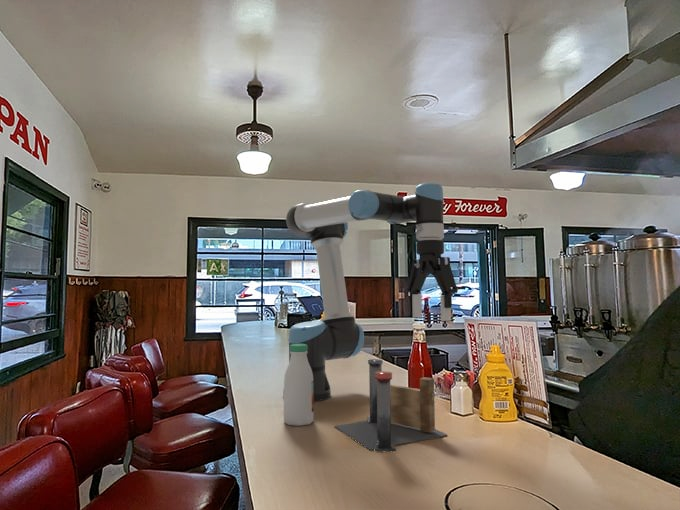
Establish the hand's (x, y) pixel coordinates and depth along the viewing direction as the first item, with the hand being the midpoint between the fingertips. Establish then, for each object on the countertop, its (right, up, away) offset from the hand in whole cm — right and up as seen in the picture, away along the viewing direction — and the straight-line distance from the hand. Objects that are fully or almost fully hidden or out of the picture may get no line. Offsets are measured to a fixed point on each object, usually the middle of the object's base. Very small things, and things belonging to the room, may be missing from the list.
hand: (430, 319), depth 123 cm
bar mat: (-13, -25, -13) cm, 32 cm away
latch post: (-15, -25, -24) cm, 38 cm away
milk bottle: (-36, -26, -5) cm, 45 cm away
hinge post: (-16, -26, -6) cm, 31 cm away
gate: (-8, -25, -12) cm, 29 cm away
